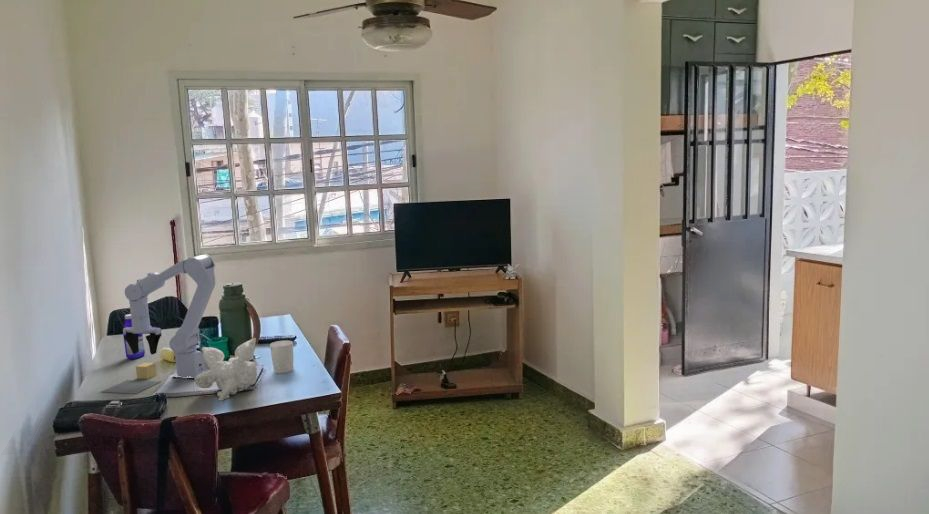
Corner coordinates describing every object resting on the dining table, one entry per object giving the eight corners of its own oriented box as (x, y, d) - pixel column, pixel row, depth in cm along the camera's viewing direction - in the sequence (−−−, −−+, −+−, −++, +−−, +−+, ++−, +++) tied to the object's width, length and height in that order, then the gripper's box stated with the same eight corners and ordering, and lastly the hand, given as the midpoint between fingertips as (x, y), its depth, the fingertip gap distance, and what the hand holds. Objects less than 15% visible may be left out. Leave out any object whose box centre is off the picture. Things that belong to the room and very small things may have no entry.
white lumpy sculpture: (268, 349, 230) (251, 332, 212) (268, 407, 222) (250, 394, 204) (213, 356, 229) (191, 339, 211) (211, 413, 221) (188, 401, 203)
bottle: (135, 360, 258) (130, 316, 255) (123, 359, 259) (117, 316, 257) (148, 354, 265) (143, 312, 263) (135, 354, 266) (130, 312, 264)
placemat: (160, 382, 229) (160, 381, 229) (135, 394, 217) (135, 393, 217) (127, 380, 232) (127, 379, 232) (100, 392, 221) (100, 391, 221)
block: (156, 374, 238) (155, 362, 237) (147, 379, 233) (146, 366, 233) (146, 374, 239) (144, 362, 238) (137, 378, 235) (135, 366, 234)
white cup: (284, 366, 241) (281, 339, 239) (299, 368, 237) (297, 341, 235) (267, 372, 234) (265, 345, 233) (283, 375, 230) (281, 347, 229)
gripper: (165, 313, 235) (169, 350, 237) (131, 313, 239) (135, 349, 241) (151, 318, 229) (155, 356, 231) (116, 318, 232) (121, 355, 234)
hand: (144, 353), depth 235 cm, fingers open, 7 cm apart
